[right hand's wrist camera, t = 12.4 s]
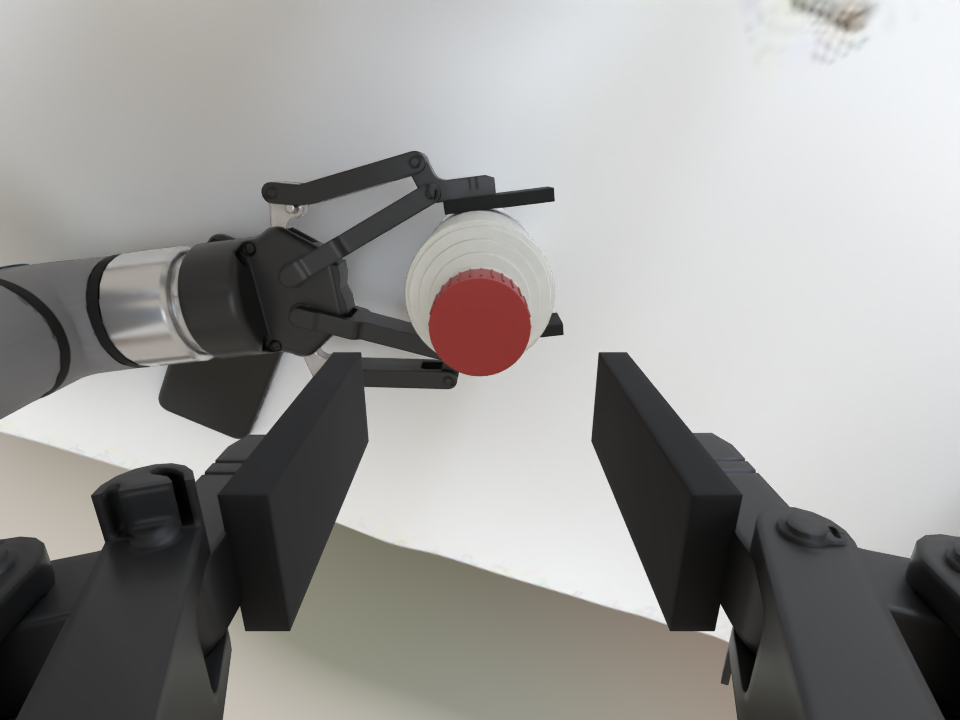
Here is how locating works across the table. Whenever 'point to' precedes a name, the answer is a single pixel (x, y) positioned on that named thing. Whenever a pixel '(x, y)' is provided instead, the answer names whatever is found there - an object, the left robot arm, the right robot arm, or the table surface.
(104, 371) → the left robot arm
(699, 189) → the table surface
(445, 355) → the cap
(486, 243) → the bottle
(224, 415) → the smartphone
